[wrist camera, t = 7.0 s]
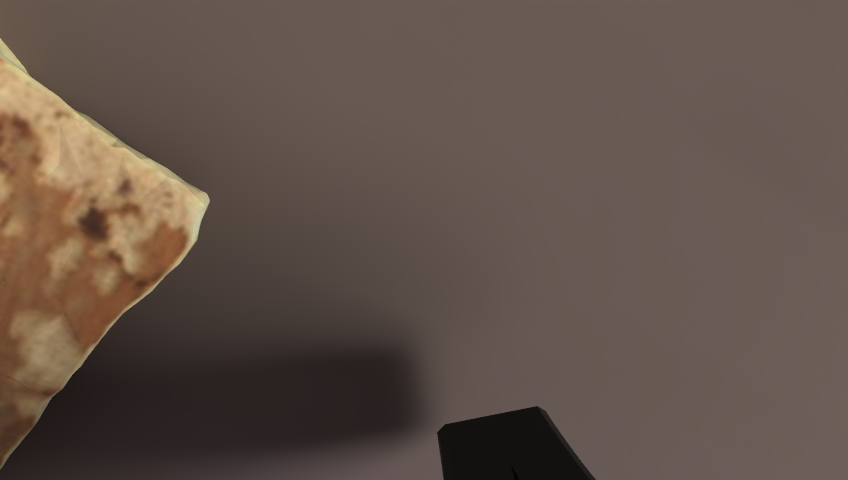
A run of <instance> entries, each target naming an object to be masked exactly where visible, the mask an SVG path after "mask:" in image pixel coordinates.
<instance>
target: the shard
mask: <svg viewBox="0 0 848 480" xmlns="http://www.w3.org/2000/svg"><path fill="white" fill-rule="evenodd" d="M209 202H210V199H209V197H208V195H207V193H205V192H203V191H201V190H199V189H198V188H196V187H194V186H192V185H190V184H188V183H187V182H185V181H184V180H182V179H181V178H180V177H178V176H177V175H176V174H174V173H173V172H171V171H170V170H169V169H167V168H166V167H164V166H162V165H160V164H159V163H157V162H155V161H153V160H152V159H150V158H148V157H146V156H145V155H143V154H141V153H140V152H138V151H136V150H134V149H133V148H131V147H129V146H127V145H126V144H124V143H123V142H122V141H121V140H119V139H118V138H117V137H115V136H114V135H113V134H112V133H110V132H109V131H108V130H106V129H105V128H104V127H102V126H101V125H100V124H98V123H97V122H95V121H94V120H93V119H91V118H90V117H89V116H87V115H85V114H83V113H80V112H78V111H76V110H74V109H72V108H71V107H70V106H69V105H67V104H66V103H65V102H64V101H63V100H62V99H61V98H59V97H58V96H57V95H56V94H54V93H53V92H51V91H50V90H48V89H47V88H46V87H44V86H43V85H41V84H40V83H38V82H37V81H35V80H34V79H33V78H32V77H31V76H30V75H29V74H28V73H27V71H26V69H25V68H24V67H23V65H22V64H21V63H20V62H19V60H18V59H17V58H16V57H15V56H14V54H13V53H12V52H11V51H10V49H9V48H8V47H7V46H6V45H5V43H4V42H3V41H2V40H1V39H0V469H1V468H2V467H3V465H4V464H5V462H6V460H7V459H8V457H9V456H10V455H11V453H12V452H13V451H14V450H15V449H16V447H17V446H18V445H19V444H20V443H21V441H22V440H23V439H24V438H25V437H26V435H27V434H28V433H29V432H30V430H31V429H32V428H33V427H34V426H35V424H36V423H37V421H38V420H39V418H40V416H41V415H42V413H43V412H44V410H45V408H46V407H47V405H48V403H49V402H50V400H51V398H52V397H53V396H54V395H55V394H56V393H58V392H59V391H60V390H61V389H63V387H64V386H65V385H66V383H67V382H68V380H69V379H70V377H71V376H72V375H73V373H74V372H75V371H76V370H77V369H78V368H80V367H81V366H82V364H83V363H84V361H85V360H86V358H87V357H88V355H89V354H90V353H91V352H92V350H93V349H94V348H95V346H96V345H97V344H98V343H99V341H100V340H101V339H102V338H103V336H104V335H105V334H106V333H107V331H108V330H109V329H110V328H111V327H112V325H113V324H114V323H115V322H116V321H117V320H118V318H119V317H120V316H121V315H122V314H123V313H124V312H125V311H127V310H128V309H129V308H131V307H132V306H133V305H135V304H136V303H137V302H139V301H140V300H141V299H142V298H144V297H145V296H146V295H148V294H149V293H150V292H151V291H152V290H153V289H154V288H155V287H156V286H157V285H158V284H159V282H160V281H161V280H162V279H163V278H164V277H165V276H166V275H167V274H168V273H169V272H170V271H171V270H173V269H174V268H175V267H176V266H178V265H179V264H180V263H181V261H182V260H183V259H184V257H185V256H186V254H187V253H188V252H189V250H190V249H191V248H192V246H193V245H194V244H195V242H196V241H197V237H198V232H199V227H200V223H201V220H202V218H203V215H204V213H205V211H206V209H207V206H208V204H209Z"/></svg>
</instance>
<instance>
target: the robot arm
mask: <svg viewBox="0 0 848 480" xmlns="http://www.w3.org/2000/svg"><path fill="white" fill-rule="evenodd" d="M437 434H438V441H439V449H440V456H441V463H442V471H443V478H444V480H595V478H594V477H593V476H592V475H591V473H590V472H589V471H588V470H587V468H586V467H585V466H584V464H583V463H582V462H581V460H580V459H579V458H578V456H577V455H576V454H575V453H574V451H573V450H572V448H571V447H570V446H569V444H568V443H567V442H566V440H565V439H564V437H563V436H562V435H561V433H560V432H559V430H558V429H557V427H556V426H555V425H554V423H553V422H552V420H551V419H550V417H549V415H548V414H547V412H546V411H545V410H543V409H541V408H540V407H538V406H536V407H531V408H526V409H521V410H515V411H510V412H505V413H500V414H495V415H490V416H485V417H480V418H475V419H470V420H465V421H460V422H455V423H450V424H445V425H444V426H443V427H442V428H441V429H440V430H439V431H438V432H437Z"/></svg>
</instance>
